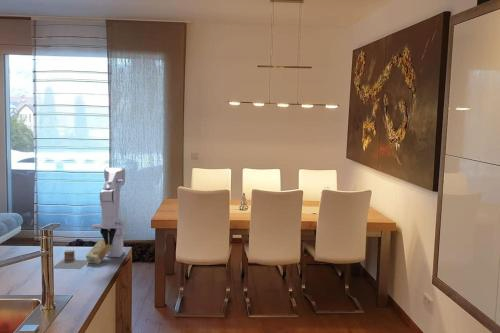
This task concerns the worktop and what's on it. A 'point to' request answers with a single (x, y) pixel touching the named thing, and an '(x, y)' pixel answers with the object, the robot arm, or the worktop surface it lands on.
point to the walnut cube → (69, 255)
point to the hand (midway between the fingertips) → (108, 244)
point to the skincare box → (98, 252)
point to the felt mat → (71, 264)
